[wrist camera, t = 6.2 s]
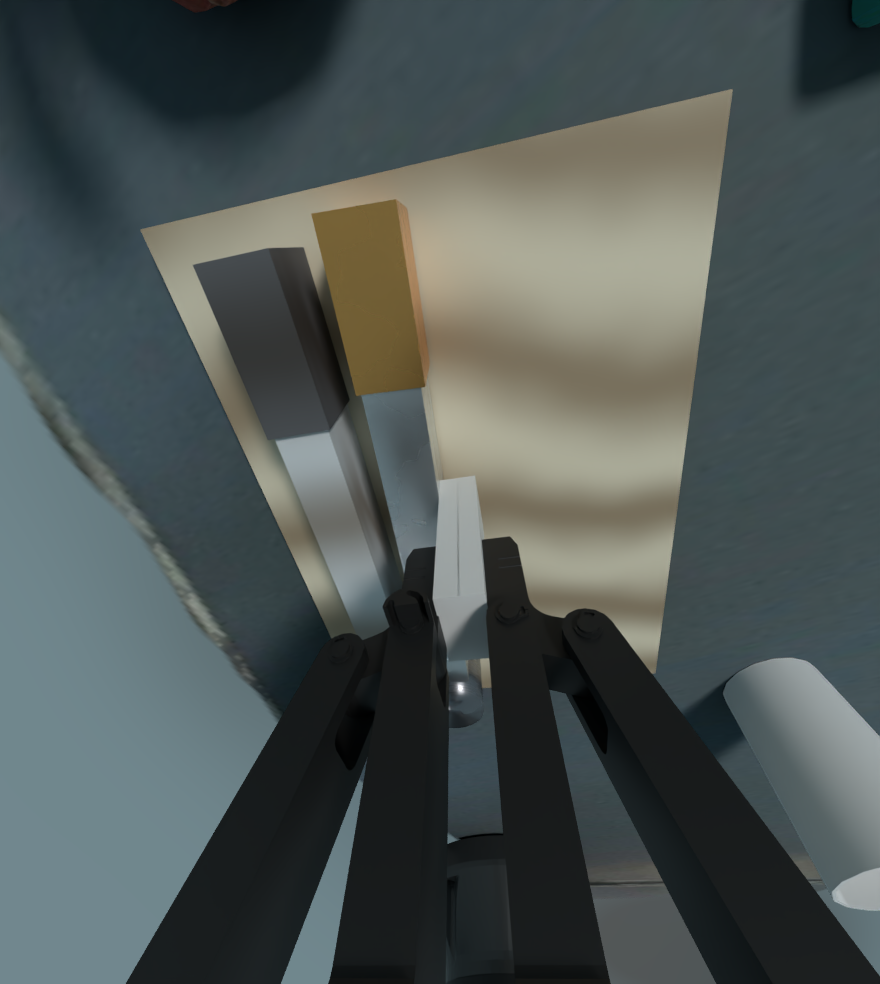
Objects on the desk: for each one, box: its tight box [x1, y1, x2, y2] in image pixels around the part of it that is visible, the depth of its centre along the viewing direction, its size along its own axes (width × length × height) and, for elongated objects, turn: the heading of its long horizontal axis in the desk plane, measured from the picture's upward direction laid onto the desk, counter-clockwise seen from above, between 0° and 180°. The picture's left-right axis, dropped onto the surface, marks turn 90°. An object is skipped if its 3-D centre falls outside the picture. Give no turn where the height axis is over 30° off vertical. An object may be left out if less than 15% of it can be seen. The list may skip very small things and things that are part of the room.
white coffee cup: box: [723, 658, 880, 911], centre depth 23 cm, size 7×7×10 cm
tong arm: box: [311, 199, 484, 728], centre depth 18 cm, size 24×3×4 cm, turn 8°
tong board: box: [141, 89, 733, 688], centre depth 19 cm, size 27×19×4 cm
